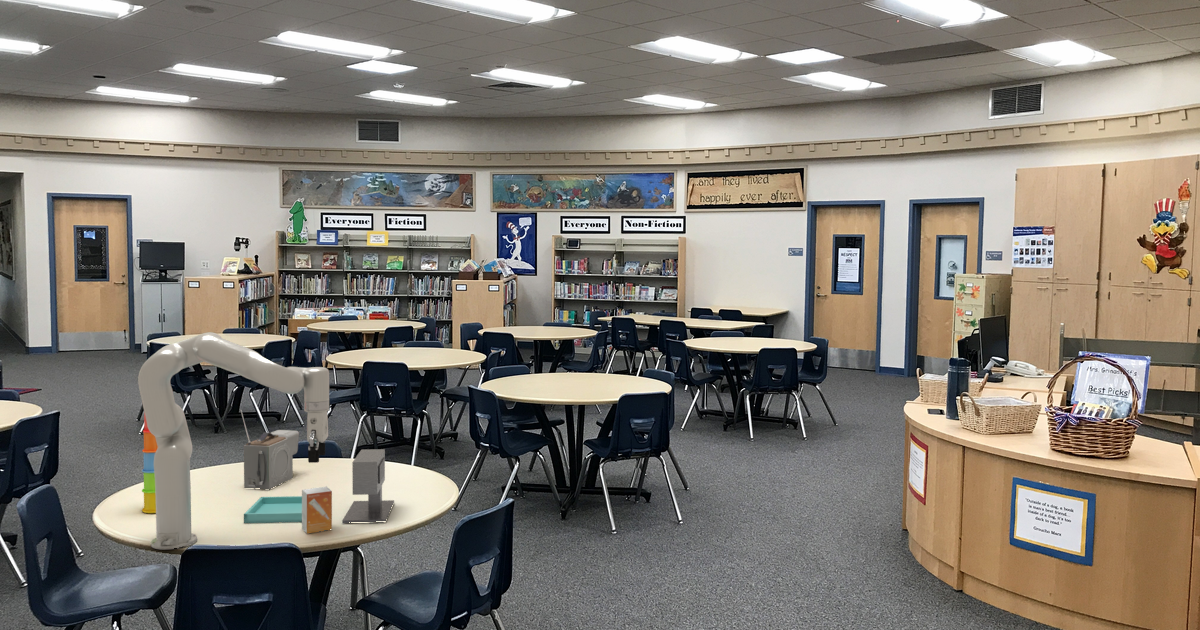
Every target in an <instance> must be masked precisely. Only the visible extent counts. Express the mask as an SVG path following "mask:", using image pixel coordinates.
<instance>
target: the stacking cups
mask: <svg viewBox="0 0 1200 630" xmlns="http://www.w3.org/2000/svg"><path fill="white" fill-rule="evenodd" d="M143 414H144V415H143V422H144V423H143V425H144V426H143V427H144V428H143V430H142V433H143V449H142V450H141V451H142V453H143V468H142V469H141V472H142V473H143V488H142V489H141V492H142V493H143V507H142V509H141V512H142V513H145V514H156V495H155V473H154V456H155V453H156V450H157V449H158V446H157V442H156V438H155V436H154V435H153V434H152V433H151V432H150V431H149V429H148V426H147V421H146V416H145V412H144V413H143Z"/></svg>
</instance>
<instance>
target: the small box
mask: <svg viewBox="0 0 1200 630" xmlns="http://www.w3.org/2000/svg"><path fill="white" fill-rule="evenodd" d="M301 496H302V522H301V529H302V530H303V532H304V533H305V534H312V533H320V532H319V531H321V532H325V531H324V530H328V531H331V530H330V529H333V490H331V489H330V488H329V487H328V486H327V485H326V486H322V487H321V486H320V487H319V486H318V487H312V488H305V489H301Z"/></svg>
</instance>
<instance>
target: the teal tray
mask: <svg viewBox="0 0 1200 630" xmlns="http://www.w3.org/2000/svg"><path fill="white" fill-rule="evenodd" d="M279 522H282V523H302V495H297V496H295V495H293V496H292V495H290V496H285V495H284V496H260V497H259V499H258V500H256V501H255V502H254V503H253V504H252V505H251V506H250V508H248V509H247V511H246V512H244V513H243V524H267V523H269V524H270V523H271V524H274V523H275V524H276V523H279Z"/></svg>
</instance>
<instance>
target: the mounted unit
mask: <svg viewBox="0 0 1200 630" xmlns="http://www.w3.org/2000/svg"><path fill="white" fill-rule="evenodd" d="M385 454H386V451H385V448H383V449H382V448H381V449H361V450H360V451H359V452H358V454H357V455H356V457H355V458H354V460H353V461H352V463H351V465H352V470H351V471H352V495H354V496H356V495H357V496H360V495H361V496H363V495H364V496H365V495H367V499H368V500H354V501H353V502H352V503H351V504H350V507H349V509H348V510H347V512H346V514H345V515H344V517H343V518H342V520H341V522H342V523H349V522H350V523H351V522H376V521H386V519H387V517H388V515H389V516H390V514H389V512H390V510H391V507H392V505H393V503H394V504H395V500H393V499H392V500H391V499H390V500H387V499H385V500H383V485H384V482H385V480H386V469H385V468H386V466H385V464H386V458H385ZM393 506H394V505H393ZM391 511H392V510H391ZM390 513H391V512H390ZM388 518H389V517H388ZM387 520H388V519H387ZM386 522H387V521H386ZM342 523H341V524H342Z"/></svg>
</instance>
